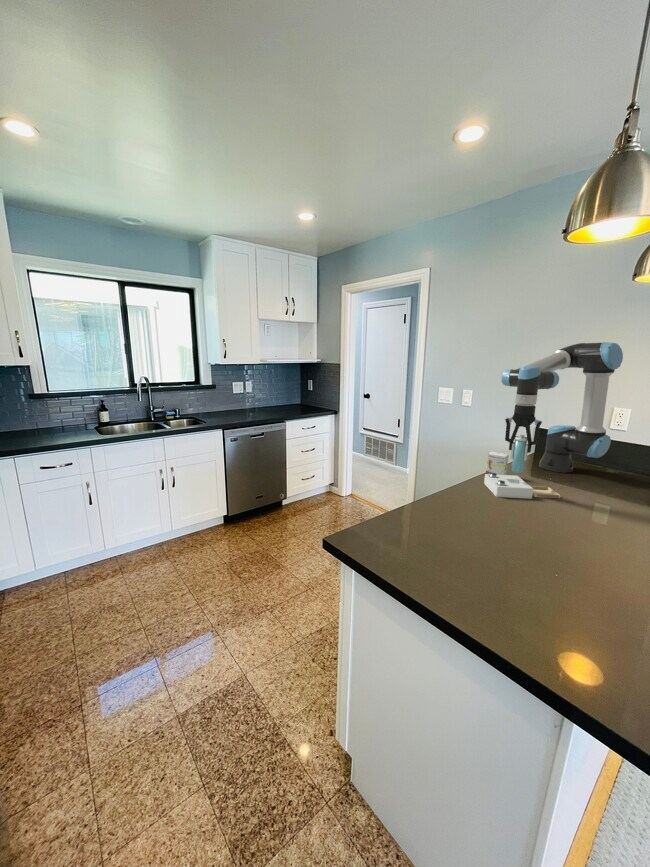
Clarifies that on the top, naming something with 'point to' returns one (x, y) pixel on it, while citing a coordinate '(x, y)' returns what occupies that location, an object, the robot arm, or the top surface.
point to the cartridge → (519, 454)
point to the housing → (509, 486)
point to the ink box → (497, 463)
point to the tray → (544, 492)
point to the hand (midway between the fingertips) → (518, 458)
